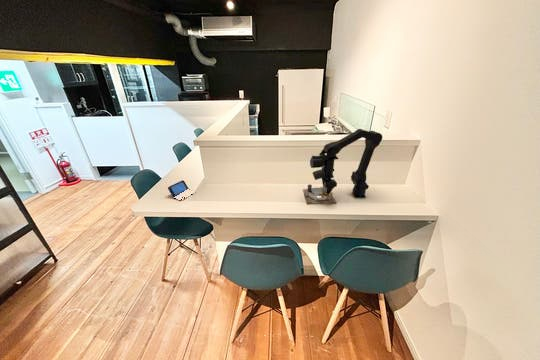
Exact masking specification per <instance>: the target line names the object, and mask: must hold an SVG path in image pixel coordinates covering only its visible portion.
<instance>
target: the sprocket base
mask: <svg viewBox="0 0 540 360" xmlns="http://www.w3.org/2000/svg"><path fill="white" fill-rule="evenodd" d="M302 192H303V195H304V199H305V201H306V205H337V201H336V199H335V197H334V195H333V194H332V195H331V197H330V200H329V201H328V200H325V201H314V200H313V199H311V198H309V197H308V196H306V193H307V192H308V188H303V189H302Z"/></svg>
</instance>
